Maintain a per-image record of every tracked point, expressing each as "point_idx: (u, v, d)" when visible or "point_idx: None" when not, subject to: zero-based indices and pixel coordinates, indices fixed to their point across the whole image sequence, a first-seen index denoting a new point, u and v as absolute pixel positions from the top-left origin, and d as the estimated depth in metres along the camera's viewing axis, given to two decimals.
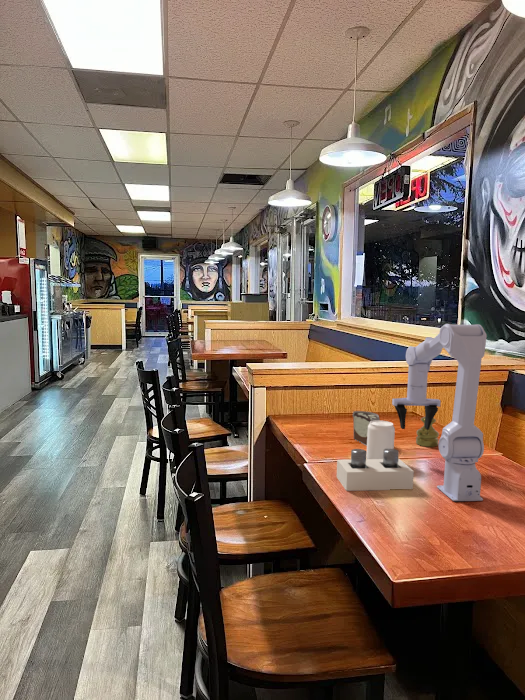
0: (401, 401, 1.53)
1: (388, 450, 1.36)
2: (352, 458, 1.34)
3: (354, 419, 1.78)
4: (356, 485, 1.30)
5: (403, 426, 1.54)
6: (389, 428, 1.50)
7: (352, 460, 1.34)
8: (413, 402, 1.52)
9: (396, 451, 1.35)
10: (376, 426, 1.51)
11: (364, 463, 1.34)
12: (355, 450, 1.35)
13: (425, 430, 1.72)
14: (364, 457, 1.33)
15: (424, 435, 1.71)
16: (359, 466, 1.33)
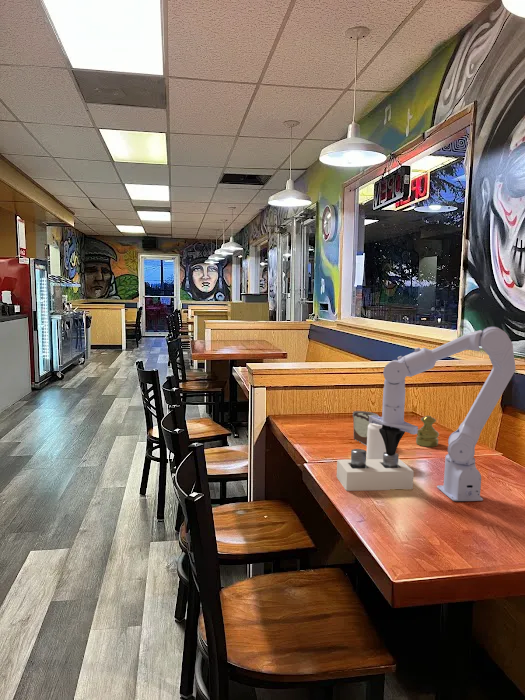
0: (374, 419, 1.38)
1: None
2: (352, 458, 1.34)
3: (354, 419, 1.78)
4: (356, 485, 1.30)
5: (386, 451, 1.35)
6: None
7: (352, 460, 1.34)
8: (381, 422, 1.35)
9: (396, 454, 1.35)
10: (376, 426, 1.51)
11: (364, 463, 1.34)
12: (355, 450, 1.35)
13: (425, 430, 1.72)
14: (364, 457, 1.33)
15: (424, 435, 1.71)
16: (359, 466, 1.33)
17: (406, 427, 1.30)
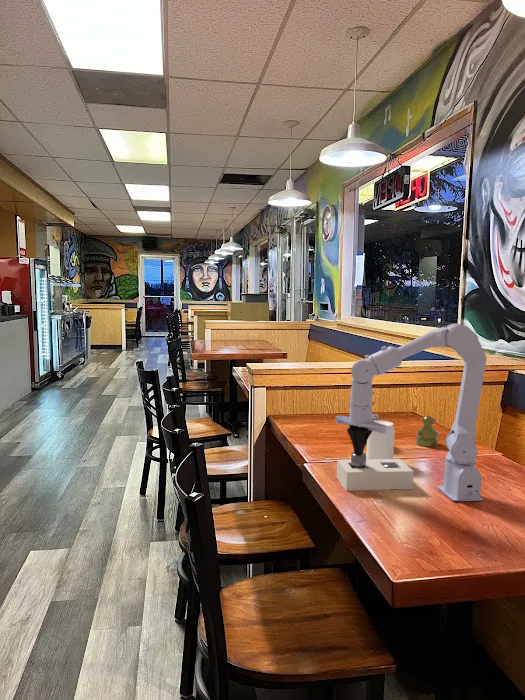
0: (341, 419, 1.36)
1: (387, 464, 1.37)
2: (352, 461, 1.34)
3: None
4: (356, 485, 1.30)
5: (354, 451, 1.34)
6: (389, 428, 1.50)
7: (352, 463, 1.34)
8: (349, 422, 1.33)
9: (395, 465, 1.36)
10: None
11: (364, 466, 1.34)
12: None
13: (425, 430, 1.72)
14: (364, 460, 1.33)
15: (424, 435, 1.71)
16: None
17: (375, 426, 1.29)
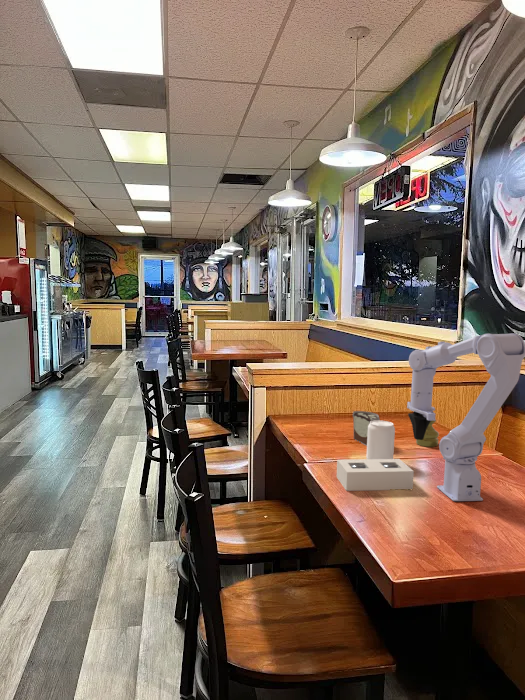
0: (408, 404, 1.47)
1: (387, 464, 1.37)
2: None
3: (354, 419, 1.78)
4: (356, 485, 1.30)
5: (414, 435, 1.43)
6: (389, 428, 1.50)
7: None
8: (409, 407, 1.43)
9: (395, 465, 1.36)
10: (376, 426, 1.51)
11: None
12: (354, 465, 1.35)
13: None
14: None
15: (424, 435, 1.71)
16: None
17: (424, 413, 1.36)
